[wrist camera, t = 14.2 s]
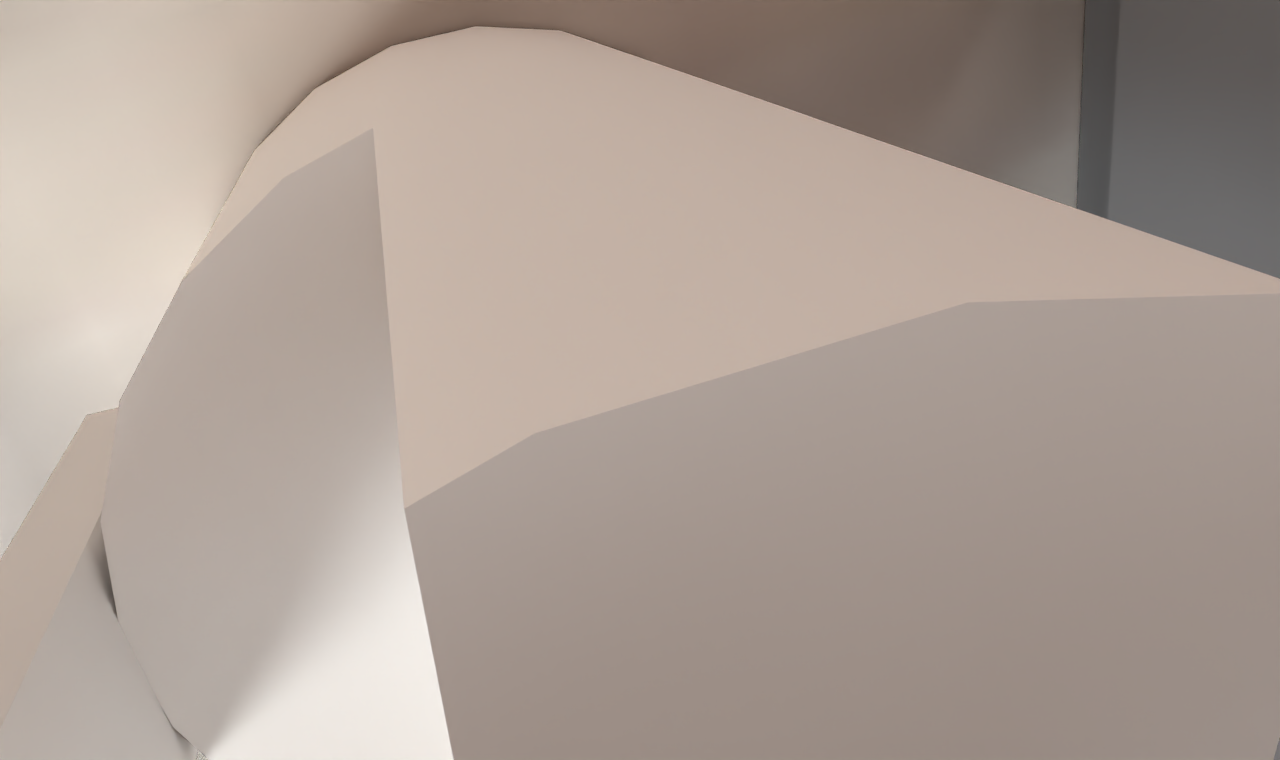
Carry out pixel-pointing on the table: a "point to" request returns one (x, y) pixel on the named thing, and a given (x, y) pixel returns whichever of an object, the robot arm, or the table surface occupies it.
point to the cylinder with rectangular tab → (688, 443)
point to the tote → (1185, 124)
